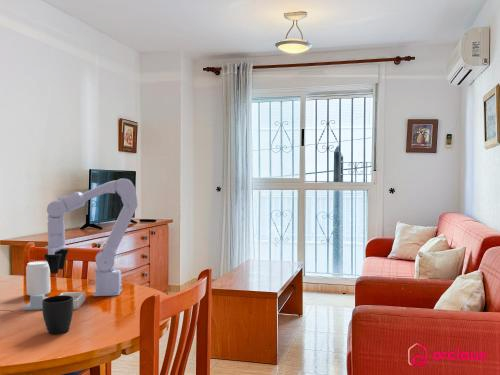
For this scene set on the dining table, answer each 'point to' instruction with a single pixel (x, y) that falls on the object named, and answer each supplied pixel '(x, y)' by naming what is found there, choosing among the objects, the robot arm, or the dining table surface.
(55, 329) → the mug
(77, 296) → the tub
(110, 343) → the dining table surface
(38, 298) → the lid
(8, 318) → the dining table surface
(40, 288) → the beverage can
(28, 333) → the dining table surface
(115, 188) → the robot arm
